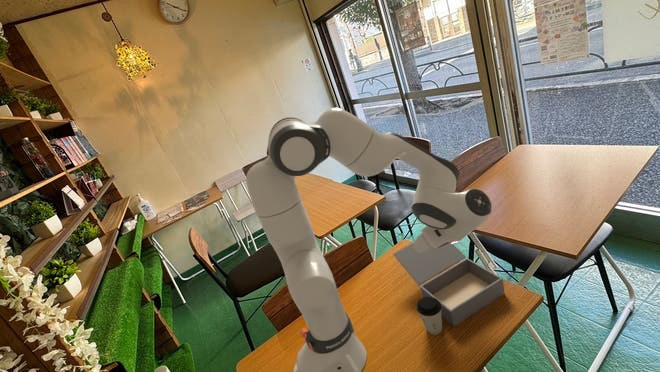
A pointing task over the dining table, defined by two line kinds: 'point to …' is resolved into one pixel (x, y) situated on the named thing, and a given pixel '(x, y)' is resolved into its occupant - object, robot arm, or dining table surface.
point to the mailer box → (463, 290)
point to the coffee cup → (430, 314)
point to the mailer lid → (428, 261)
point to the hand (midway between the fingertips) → (435, 240)
